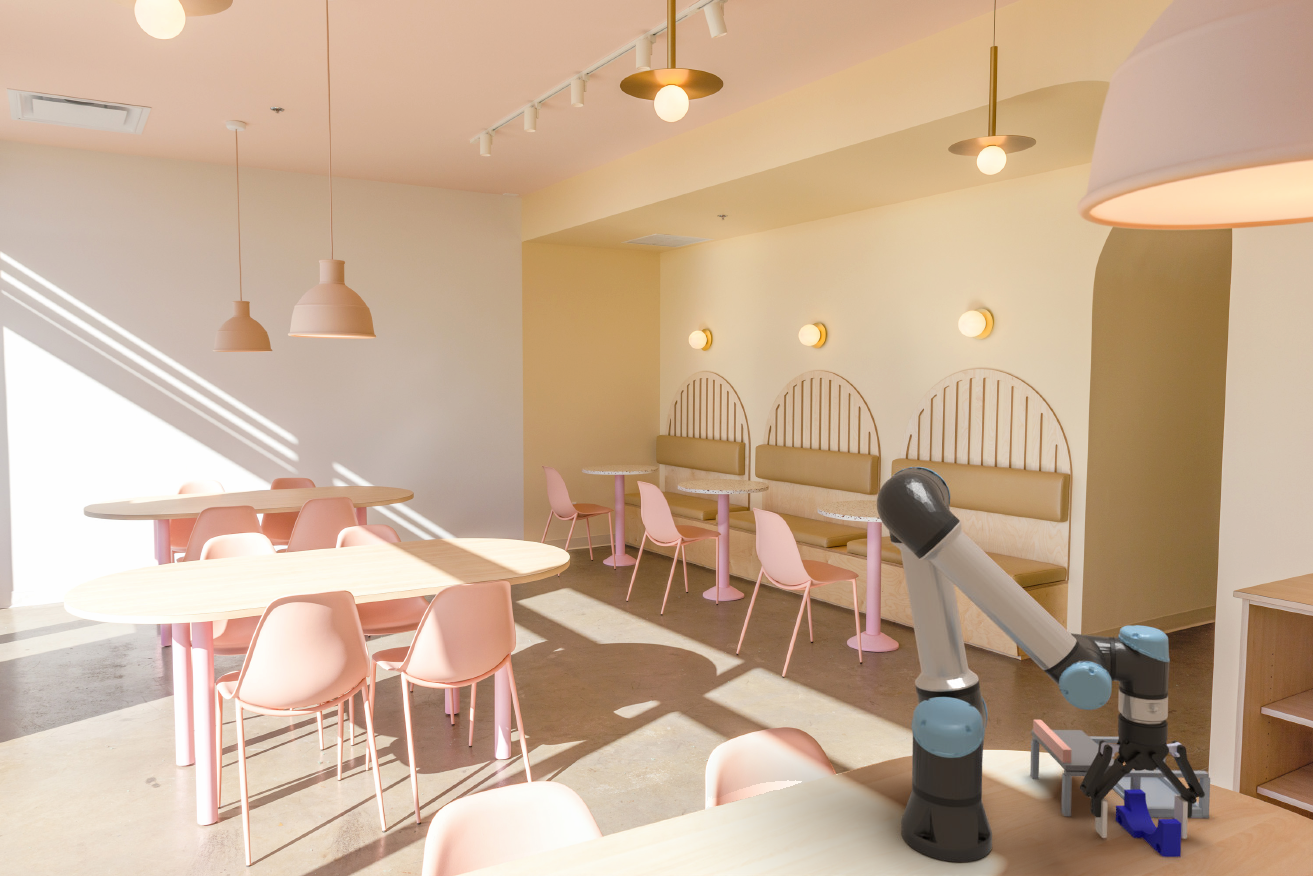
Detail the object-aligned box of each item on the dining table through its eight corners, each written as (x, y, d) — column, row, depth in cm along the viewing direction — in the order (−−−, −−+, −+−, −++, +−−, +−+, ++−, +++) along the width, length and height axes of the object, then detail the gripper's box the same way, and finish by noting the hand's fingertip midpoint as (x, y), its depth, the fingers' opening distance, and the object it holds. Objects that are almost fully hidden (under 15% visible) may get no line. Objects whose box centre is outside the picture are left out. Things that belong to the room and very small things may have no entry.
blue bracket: (1115, 821, 155) (1116, 789, 155) (1140, 821, 155) (1140, 789, 155) (1153, 858, 143) (1154, 823, 143) (1180, 857, 143) (1181, 823, 143)
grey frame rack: (1064, 816, 157) (1065, 772, 156) (1030, 775, 173) (1031, 735, 172) (1208, 818, 156) (1210, 773, 155) (1161, 777, 172) (1162, 737, 171)
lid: (1065, 770, 156) (1065, 751, 156) (1031, 734, 172) (1031, 717, 172) (1120, 771, 156) (1121, 752, 156) (1081, 734, 172) (1081, 718, 172)
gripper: (1079, 724, 145) (1077, 845, 146) (1229, 725, 144) (1226, 846, 145) (1060, 708, 152) (1059, 822, 154) (1203, 708, 151) (1200, 823, 152)
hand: (1140, 834), depth 149 cm, fingers open, 13 cm apart
